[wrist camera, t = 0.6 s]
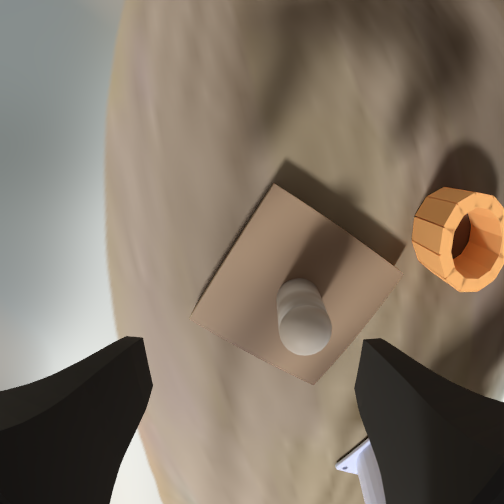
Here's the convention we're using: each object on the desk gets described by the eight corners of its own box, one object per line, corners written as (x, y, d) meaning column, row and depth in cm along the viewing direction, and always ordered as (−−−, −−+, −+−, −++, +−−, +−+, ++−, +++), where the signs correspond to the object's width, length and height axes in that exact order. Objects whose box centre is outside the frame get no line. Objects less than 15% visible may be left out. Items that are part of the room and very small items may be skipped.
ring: (489, 221, 17) (521, 231, 13) (449, 287, 18) (476, 307, 15) (441, 170, 16) (473, 172, 13) (396, 243, 18) (422, 259, 14)
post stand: (394, 266, 18) (442, 307, 12) (310, 372, 20) (323, 437, 14) (273, 182, 17) (278, 189, 11) (194, 308, 19) (166, 364, 13)
